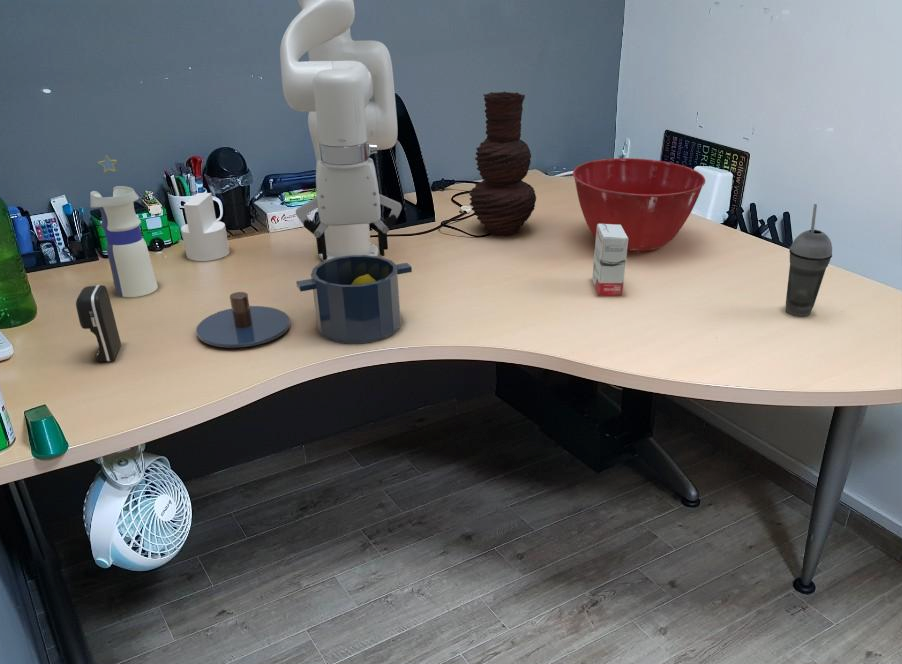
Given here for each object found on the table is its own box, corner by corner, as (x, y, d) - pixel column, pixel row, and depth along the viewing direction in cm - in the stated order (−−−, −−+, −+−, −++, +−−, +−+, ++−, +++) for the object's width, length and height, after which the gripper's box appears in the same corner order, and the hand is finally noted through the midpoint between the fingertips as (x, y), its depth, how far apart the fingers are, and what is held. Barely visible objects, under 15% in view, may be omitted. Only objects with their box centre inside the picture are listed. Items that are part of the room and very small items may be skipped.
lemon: (368, 315, 139) (376, 271, 140) (339, 312, 141) (347, 268, 141) (379, 323, 145) (387, 280, 145) (351, 319, 146) (359, 276, 147)
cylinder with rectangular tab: (222, 261, 170) (212, 205, 164) (180, 260, 170) (168, 205, 164) (234, 246, 178) (225, 193, 171) (194, 246, 178) (184, 192, 172)
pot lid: (190, 321, 144) (183, 287, 141) (278, 305, 150) (273, 272, 147) (206, 358, 132) (198, 321, 128) (300, 339, 138) (295, 303, 135)
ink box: (623, 296, 155) (629, 237, 149) (597, 296, 154) (602, 237, 148) (615, 279, 162) (621, 222, 156) (591, 279, 162) (595, 222, 156)
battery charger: (98, 345, 136) (80, 282, 130) (122, 343, 136) (105, 281, 130) (89, 365, 130) (70, 299, 124) (114, 362, 130) (96, 297, 125)
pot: (293, 320, 145) (286, 265, 139) (397, 300, 152) (394, 248, 147) (316, 353, 133) (309, 295, 128) (427, 330, 141) (425, 274, 136)
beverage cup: (798, 323, 144) (821, 214, 134) (768, 308, 150) (789, 203, 140) (827, 315, 147) (852, 208, 137) (797, 301, 153) (819, 197, 142)
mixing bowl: (713, 236, 185) (724, 168, 177) (667, 275, 164) (676, 200, 156) (602, 215, 198) (607, 151, 190) (546, 249, 177) (549, 179, 169)
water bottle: (104, 290, 156) (70, 160, 143) (146, 278, 162) (116, 151, 149) (124, 301, 151) (90, 168, 139) (166, 288, 157) (137, 159, 144)
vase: (456, 232, 186) (453, 96, 171) (493, 216, 197) (494, 86, 182) (511, 245, 179) (513, 104, 163) (547, 227, 190) (552, 93, 174)
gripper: (396, 145, 132) (401, 244, 141) (289, 150, 129) (301, 251, 138) (401, 156, 126) (406, 259, 135) (288, 161, 123) (301, 267, 132)
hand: (353, 255), depth 136 cm, fingers open, 9 cm apart
